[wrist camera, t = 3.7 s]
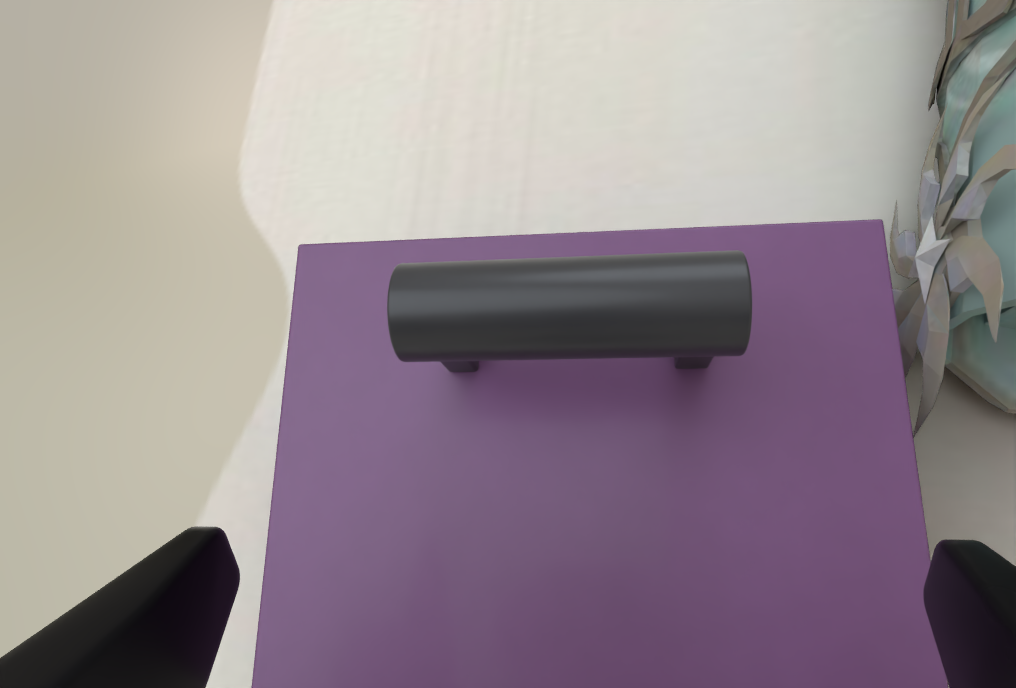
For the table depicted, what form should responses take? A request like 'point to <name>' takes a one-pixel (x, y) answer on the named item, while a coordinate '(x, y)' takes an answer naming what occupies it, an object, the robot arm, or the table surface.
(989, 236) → the ornate book
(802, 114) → the table surface
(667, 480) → the lid
